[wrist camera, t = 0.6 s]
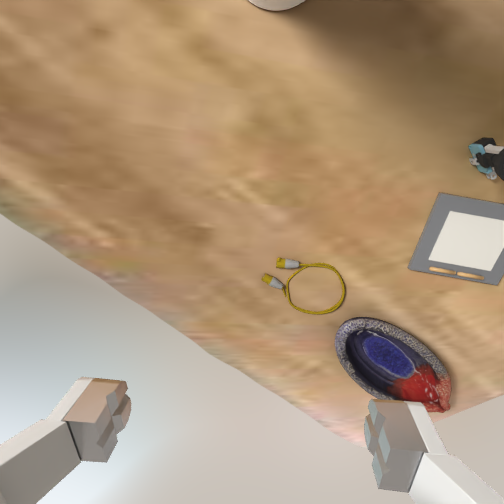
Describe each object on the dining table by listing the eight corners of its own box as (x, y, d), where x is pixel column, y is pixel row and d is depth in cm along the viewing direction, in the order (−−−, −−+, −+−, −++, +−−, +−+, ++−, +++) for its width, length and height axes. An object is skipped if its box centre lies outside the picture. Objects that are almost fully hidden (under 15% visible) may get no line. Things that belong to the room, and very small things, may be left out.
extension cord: (307, 234, 54) (308, 238, 52) (356, 292, 58) (358, 298, 56) (256, 271, 58) (256, 276, 56) (305, 324, 62) (306, 330, 60)
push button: (505, 167, 47) (560, 178, 37) (470, 186, 48) (515, 201, 39) (491, 129, 45) (545, 131, 36) (455, 150, 46) (498, 157, 37)
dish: (372, 290, 57) (380, 304, 53) (464, 379, 64) (478, 399, 59) (312, 334, 63) (314, 351, 58) (403, 412, 69) (411, 433, 65)
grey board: (439, 192, 49) (443, 194, 48) (536, 209, 49) (543, 212, 47) (407, 267, 55) (410, 271, 53) (494, 283, 54) (499, 287, 53)
